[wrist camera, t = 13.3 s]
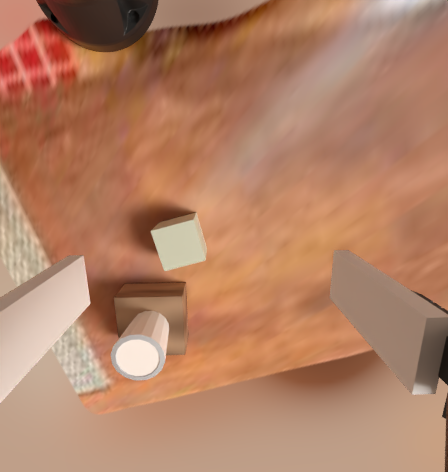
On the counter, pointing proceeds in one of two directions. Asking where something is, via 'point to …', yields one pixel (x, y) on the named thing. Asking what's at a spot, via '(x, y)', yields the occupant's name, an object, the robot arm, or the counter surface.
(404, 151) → the counter surface
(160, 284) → the walnut block
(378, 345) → the robot arm
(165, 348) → the shot glass
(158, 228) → the sage block
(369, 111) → the counter surface
